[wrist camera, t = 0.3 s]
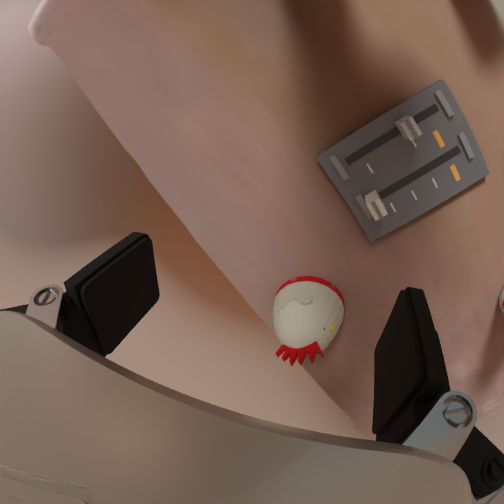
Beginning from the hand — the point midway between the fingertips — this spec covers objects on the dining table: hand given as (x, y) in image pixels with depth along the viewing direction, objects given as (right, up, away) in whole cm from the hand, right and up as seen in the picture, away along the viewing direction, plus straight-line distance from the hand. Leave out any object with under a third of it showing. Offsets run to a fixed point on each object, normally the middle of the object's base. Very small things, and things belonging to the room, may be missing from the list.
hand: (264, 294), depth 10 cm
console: (+23, +15, +26) cm, 38 cm away
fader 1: (+18, +9, +29) cm, 35 cm away
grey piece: (+11, -9, +44) cm, 47 cm away
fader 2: (+21, +19, +22) cm, 36 cm away
